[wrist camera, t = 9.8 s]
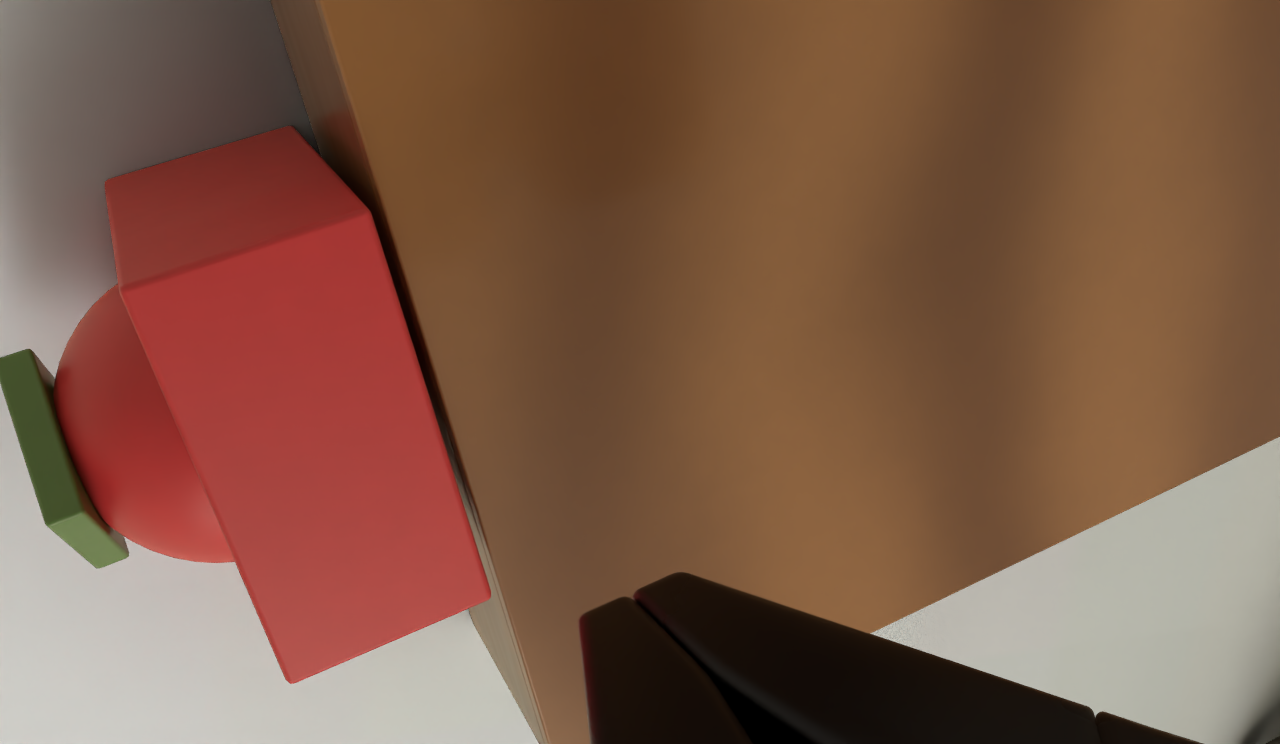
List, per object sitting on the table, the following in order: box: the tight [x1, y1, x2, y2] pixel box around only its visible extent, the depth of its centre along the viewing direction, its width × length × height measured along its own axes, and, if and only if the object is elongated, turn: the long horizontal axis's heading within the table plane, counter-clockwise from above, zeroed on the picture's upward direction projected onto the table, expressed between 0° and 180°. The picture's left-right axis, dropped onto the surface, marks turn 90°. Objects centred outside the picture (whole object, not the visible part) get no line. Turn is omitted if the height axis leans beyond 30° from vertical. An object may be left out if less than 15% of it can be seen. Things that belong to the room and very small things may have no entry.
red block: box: [0, 126, 491, 684], centre depth 14 cm, size 5×5×4 cm
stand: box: [270, 0, 1280, 744], centre depth 17 cm, size 15×12×4 cm
